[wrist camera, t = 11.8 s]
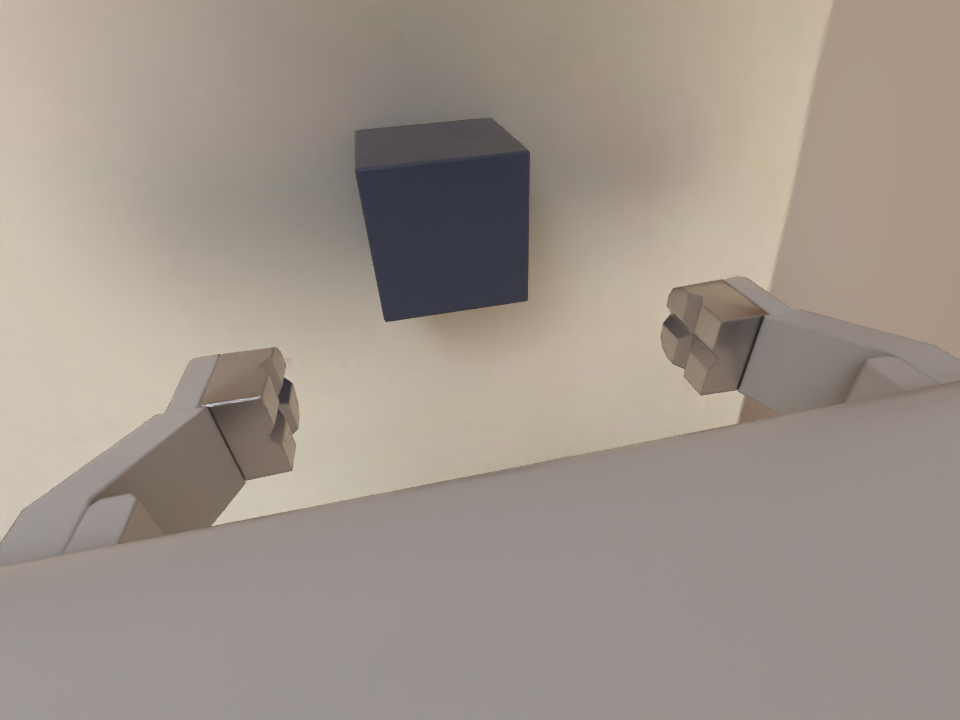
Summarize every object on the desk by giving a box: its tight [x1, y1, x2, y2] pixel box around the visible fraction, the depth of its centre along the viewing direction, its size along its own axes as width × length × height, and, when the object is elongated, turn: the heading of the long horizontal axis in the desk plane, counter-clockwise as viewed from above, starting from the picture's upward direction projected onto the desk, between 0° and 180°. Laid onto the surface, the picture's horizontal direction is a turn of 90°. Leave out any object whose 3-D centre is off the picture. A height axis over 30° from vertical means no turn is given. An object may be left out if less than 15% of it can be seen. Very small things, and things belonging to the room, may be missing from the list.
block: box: [355, 118, 530, 322], centre depth 15 cm, size 4×4×4 cm
